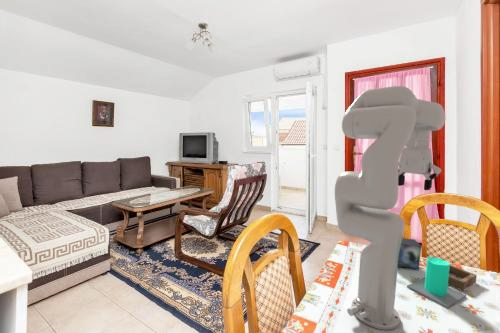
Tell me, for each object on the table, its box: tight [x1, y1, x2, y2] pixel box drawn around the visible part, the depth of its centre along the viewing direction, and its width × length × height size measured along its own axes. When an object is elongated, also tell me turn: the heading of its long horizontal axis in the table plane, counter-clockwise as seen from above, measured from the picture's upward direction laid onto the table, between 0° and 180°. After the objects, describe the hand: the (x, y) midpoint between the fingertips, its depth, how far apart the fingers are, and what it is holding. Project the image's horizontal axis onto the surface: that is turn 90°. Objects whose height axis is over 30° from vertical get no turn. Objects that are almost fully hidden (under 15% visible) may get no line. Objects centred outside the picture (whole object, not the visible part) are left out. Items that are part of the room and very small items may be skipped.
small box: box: [397, 238, 422, 271], centre depth 98 cm, size 11×6×10 cm, turn 77°
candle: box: [424, 256, 451, 296], centre depth 80 cm, size 6×6×12 cm
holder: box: [448, 264, 478, 292], centre depth 88 cm, size 10×10×3 cm
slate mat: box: [406, 276, 467, 310], centre depth 81 cm, size 12×12×1 cm
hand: (413, 187), depth 95 cm, fingers open, 9 cm apart
